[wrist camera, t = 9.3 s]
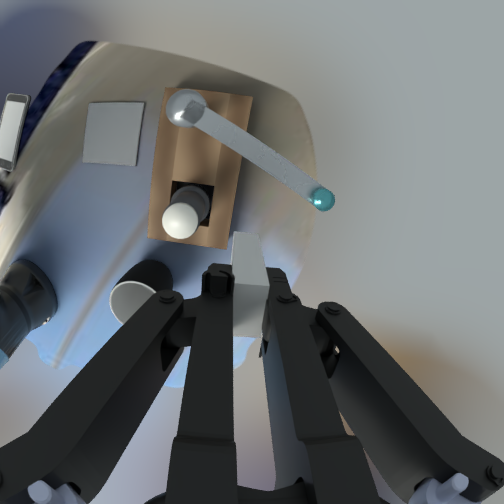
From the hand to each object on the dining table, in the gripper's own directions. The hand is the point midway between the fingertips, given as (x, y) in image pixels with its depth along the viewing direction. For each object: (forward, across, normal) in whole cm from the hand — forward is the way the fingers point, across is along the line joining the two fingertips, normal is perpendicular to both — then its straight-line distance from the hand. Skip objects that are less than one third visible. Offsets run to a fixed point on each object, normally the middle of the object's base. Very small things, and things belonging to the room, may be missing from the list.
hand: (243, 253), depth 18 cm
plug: (+26, -7, -2) cm, 27 cm away
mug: (+26, -14, -18) cm, 35 cm away
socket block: (+26, -6, +2) cm, 27 cm away
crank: (+12, 0, +6) cm, 14 cm away
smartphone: (+27, -46, +10) cm, 54 cm away
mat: (+26, -21, +7) cm, 34 cm away
